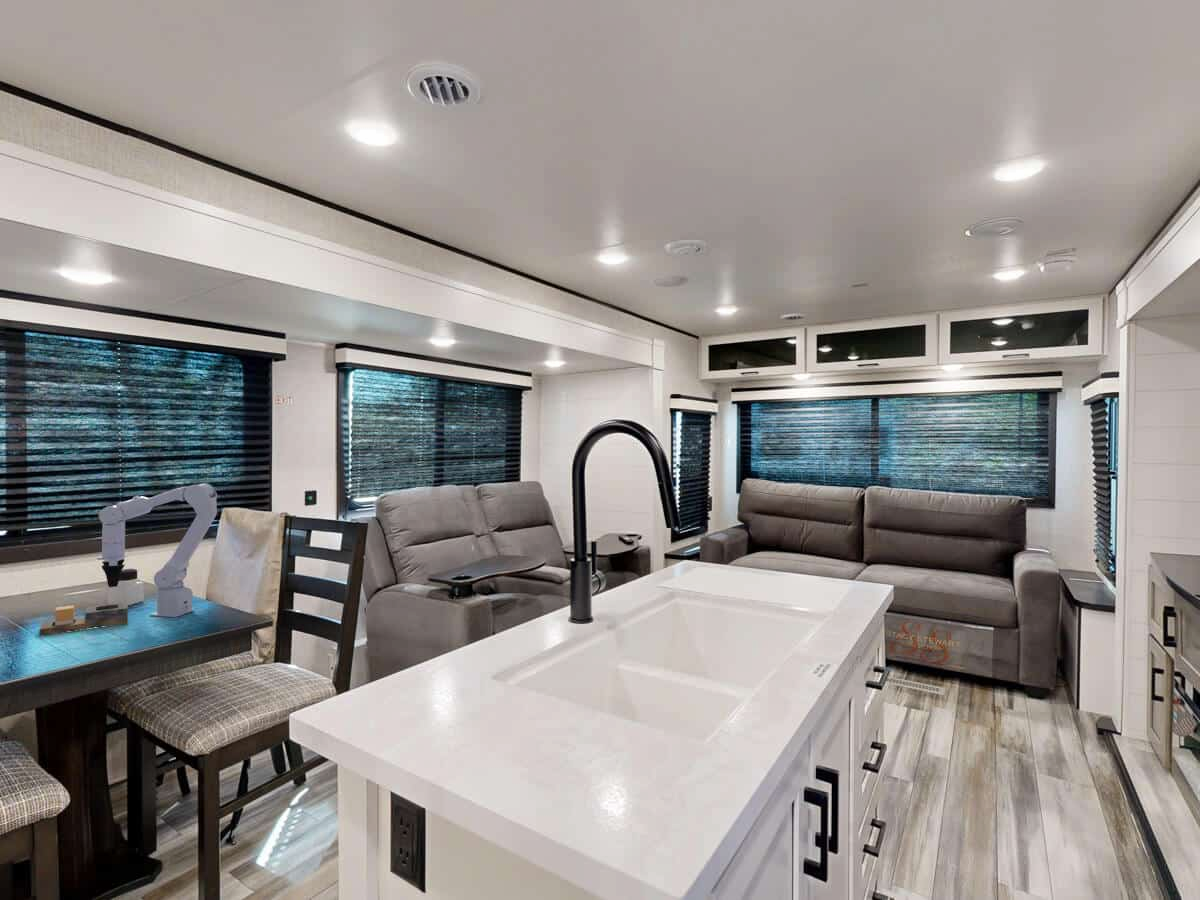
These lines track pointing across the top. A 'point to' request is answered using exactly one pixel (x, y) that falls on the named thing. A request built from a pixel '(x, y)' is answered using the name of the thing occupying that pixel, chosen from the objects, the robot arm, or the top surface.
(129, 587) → the medicine bottle
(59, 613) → the plug
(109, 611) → the wooden base
